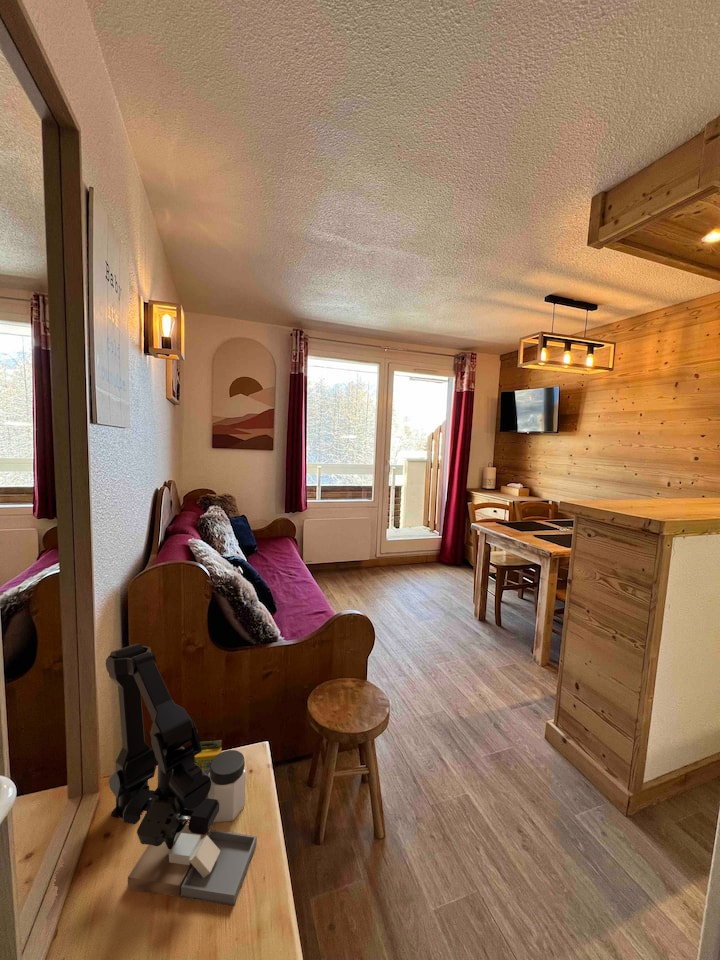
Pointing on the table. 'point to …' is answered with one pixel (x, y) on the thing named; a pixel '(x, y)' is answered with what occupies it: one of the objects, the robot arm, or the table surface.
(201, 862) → the tile
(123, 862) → the table surface
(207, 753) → the crayon box
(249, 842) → the tray
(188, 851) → the tile
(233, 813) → the jar
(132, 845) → the table surface
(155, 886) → the brown board
